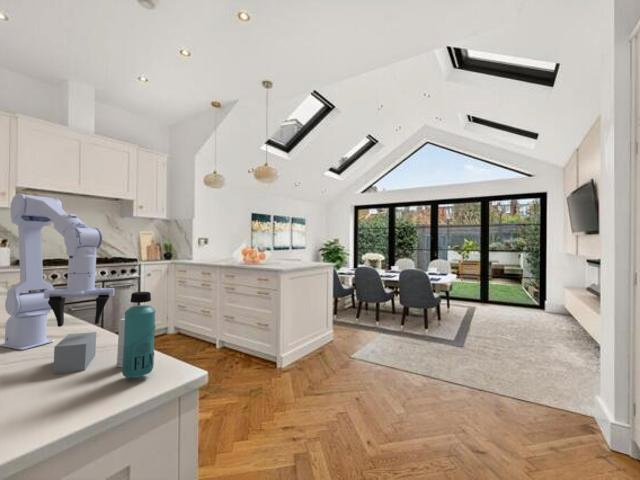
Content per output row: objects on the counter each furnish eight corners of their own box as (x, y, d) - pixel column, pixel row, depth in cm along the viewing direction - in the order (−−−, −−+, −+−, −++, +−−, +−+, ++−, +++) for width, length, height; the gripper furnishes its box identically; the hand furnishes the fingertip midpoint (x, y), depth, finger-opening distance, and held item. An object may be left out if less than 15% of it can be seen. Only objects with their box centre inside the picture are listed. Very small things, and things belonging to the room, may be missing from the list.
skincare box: (130, 369, 74) (132, 320, 75) (116, 367, 75) (118, 319, 75) (149, 360, 80) (151, 315, 81) (135, 358, 81) (137, 314, 81)
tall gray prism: (67, 358, 80) (68, 334, 80) (95, 355, 82) (96, 332, 82) (53, 374, 70) (54, 346, 70) (84, 370, 73) (86, 343, 73)
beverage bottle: (129, 387, 65) (134, 295, 66) (115, 379, 69) (119, 292, 69) (159, 376, 71) (163, 292, 71) (144, 369, 74) (147, 289, 75)
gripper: (40, 274, 73) (37, 331, 72) (112, 274, 79) (110, 325, 79) (49, 271, 79) (47, 323, 79) (116, 271, 86) (113, 319, 85)
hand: (79, 324), depth 79 cm, fingers open, 7 cm apart
